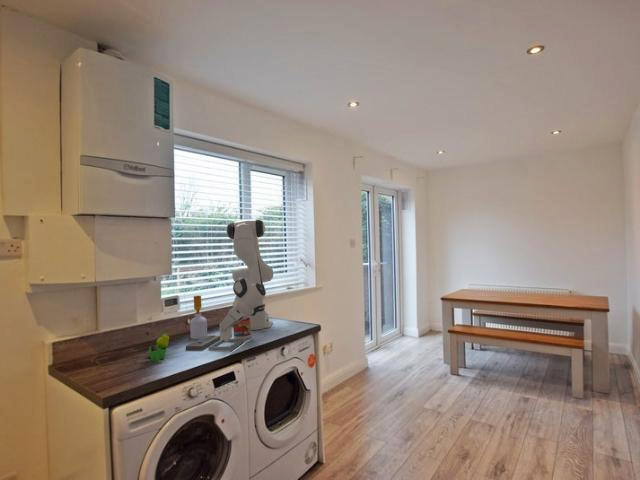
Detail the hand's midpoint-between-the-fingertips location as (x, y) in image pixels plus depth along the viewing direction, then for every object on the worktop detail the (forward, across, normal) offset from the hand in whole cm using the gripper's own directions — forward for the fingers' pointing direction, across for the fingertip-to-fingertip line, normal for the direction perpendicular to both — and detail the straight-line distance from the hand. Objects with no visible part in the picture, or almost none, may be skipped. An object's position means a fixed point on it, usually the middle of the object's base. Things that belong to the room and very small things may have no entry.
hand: (224, 330), depth 187 cm
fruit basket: (+24, +18, -11) cm, 32 cm away
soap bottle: (+24, -18, -11) cm, 32 cm away
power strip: (+15, -2, -3) cm, 16 cm away
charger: (+4, 0, +5) cm, 6 cm away
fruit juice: (+5, -17, +8) cm, 19 cm away
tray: (+6, 0, +7) cm, 9 cm away
